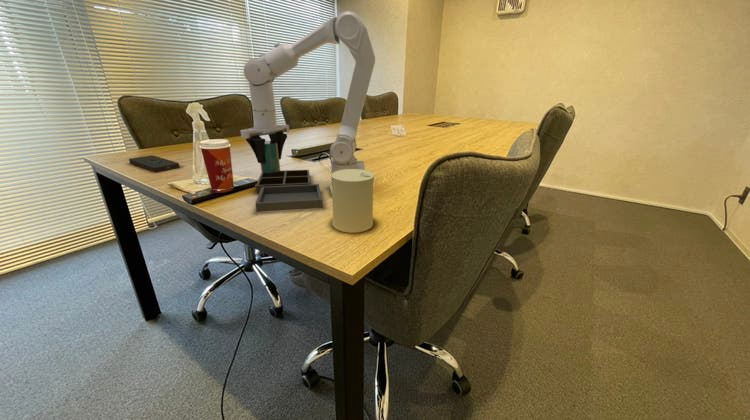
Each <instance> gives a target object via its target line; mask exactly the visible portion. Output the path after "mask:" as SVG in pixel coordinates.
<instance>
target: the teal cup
mask: <svg viewBox="0 0 750 420" xmlns="http://www.w3.org/2000/svg"><path fill="white" fill-rule="evenodd" d="M264 154H265V163H263V164H262V163H259V164H260V173H262V172H263V173H275V172H279V171H281V163H280V160H279V152H278V143H277V142H276V141H271V140H265V146H264Z"/></svg>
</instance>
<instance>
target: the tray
mask: <svg viewBox="0 0 750 420" xmlns="http://www.w3.org/2000/svg"><path fill="white" fill-rule="evenodd" d="M322 208H323V199H322V192H321V185H320V184H319V183H316V184H315V183H313V184H311V183H310V185H289V186H267V187H261V190H260V193H258V196H257V198H256V201H255V210H256V213H259V212H260V213H261V212H274V211H275V212H276V211H292V210H308V209H322Z"/></svg>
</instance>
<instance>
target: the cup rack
mask: <svg viewBox="0 0 750 420" xmlns="http://www.w3.org/2000/svg"><path fill="white" fill-rule="evenodd" d="M289 185H311V175H310V170H309V169H287V170H286V169H285V170H280V171H279V172H275V173H263V172H260V175H259V178H258V179H257V182H256V185H255V189H256V193H257V194H259V193H260V190H261V187H267V186H289Z"/></svg>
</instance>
